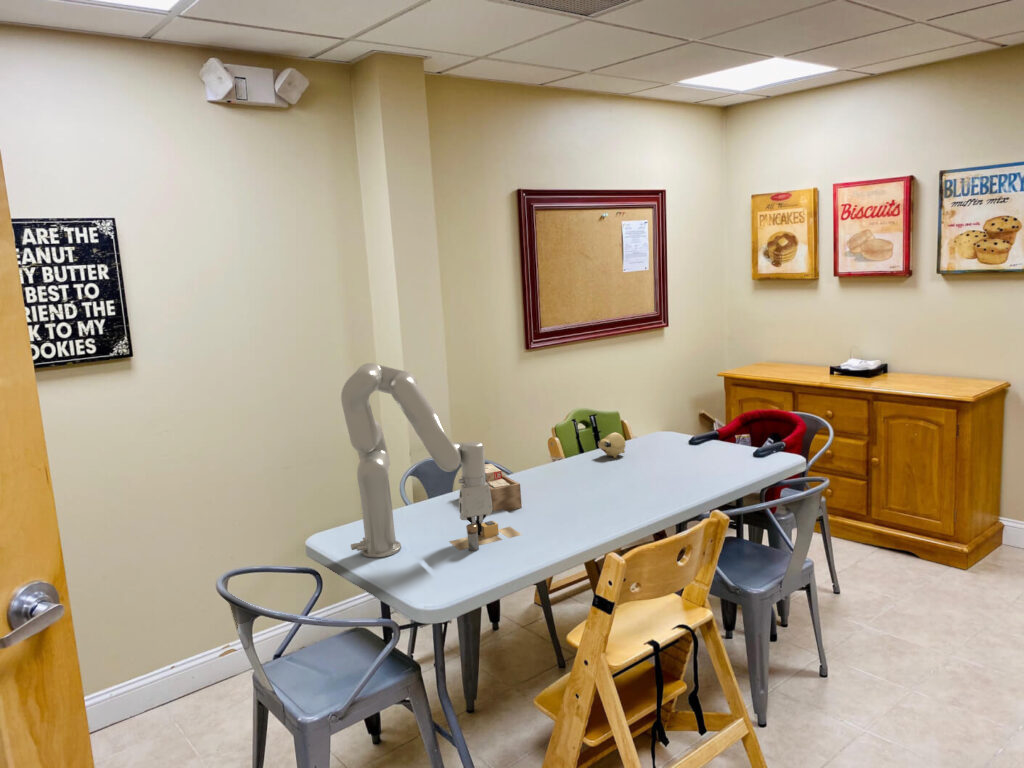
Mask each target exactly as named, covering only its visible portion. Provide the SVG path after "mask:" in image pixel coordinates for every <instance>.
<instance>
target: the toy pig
mask: <svg viewBox="0 0 1024 768" xmlns="http://www.w3.org/2000/svg"><path fill="white" fill-rule="evenodd" d="M597 446H598V448H599V449H600V450H601V451H603V452H604V453H605V454H606V455H607V456H610V457H613V458H615V459H616V458H617V457H618V455H620V454H621V455H622V454H625V453H626V450H625V449H626V440H625V438H624V436H623V435H622V434H620V433H619V432H615V431H614V432H611V433H609V434H607V435H606V436H605V437H604V438H602V439H600V440H598V441H597Z"/></svg>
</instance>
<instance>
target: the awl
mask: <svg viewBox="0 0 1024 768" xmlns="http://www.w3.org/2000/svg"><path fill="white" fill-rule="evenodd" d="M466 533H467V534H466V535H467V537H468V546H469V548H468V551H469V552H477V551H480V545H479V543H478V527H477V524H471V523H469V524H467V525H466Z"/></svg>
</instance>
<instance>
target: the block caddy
mask: <svg viewBox="0 0 1024 768" xmlns="http://www.w3.org/2000/svg"><path fill="white" fill-rule="evenodd" d="M502 479H503V480H505V481H506V482H507V483H509V484H510V485H508V486H504V487H499V488H495V489H494V488H492V487H490V486H489V488H490V493H491V499H492V512H495V511H500V510H504V511H506V512H509V511H513V510H518V509H521V508H522V507H523V506H522V494H521V493H522V492H521V484H520V482H517V481H515V480H514V479H512V478H509V477H508V476H506V475H504V474H502Z"/></svg>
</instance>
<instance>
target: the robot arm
mask: <svg viewBox="0 0 1024 768" xmlns="http://www.w3.org/2000/svg"><path fill="white" fill-rule="evenodd" d="M341 390H342V391H341V394H340V395H341V396H340V399H341V406H342V409H343V414H344V420H345V423H346V424H345V425H346V427H347V431H348V432H347V433H348V435H349V441H350V444H351V446H352V447H353V448H354V450H355V451H357V454H358V455H357V456H358V459H359V464H358V466H357V470H356V475H357V476H356V478H357V485H358V489H359V496H360V505H361V512H362V513H361V514H362V521H363V522H362V523H363V531H364V537H362V540H360V541H359V542H354V543H350V549H351V551H355V550H356V551H357V552H360V551H361V554H362V555H363V556H365V557H368V558H375V559H376V558H384V557H389V556H391V555H394V554H397V553H398V552H400V550H401V549H402V544H401V542H399V541H398V540H396V532H395V531H396V530H395V521H394V520H395V519H394V512H393V504H392V503H393V502H392V494H391V486H390V477H389V475H390V474H389V471H390V465H391V463H390V462H391V460H390V456H389V452H388V448H387V445H386V439H385V437H384V432H383V429H382V426H381V425H380V423H379V422H378V421H377V420H376V419H374V416H373V409H372V406H371V403H370V397H371V395H372V394H373V393H374V392H376V391H377V392H380V393H385V394H389V395H391V397H392V398H393V400H394V401H395V402H396V404H397V406H398V408H400V410H401V411H402V413H403V414H404V416H405V417H406V419H407V421H409V423H410V424H411V426H412V427H413V429H414V432H415V433H416V435H417V436H418V437H419V439H420V441H421V442H422V444H423V446H424V447H425V449H426V452H428V453H429V455H430V457H431V458H432V460H433V461H434V462H435V464H436V465H437V466H438V468H439V469H441V470H442V471H444V472H446V473H447V472H448V473H450V472H454V471H456V470H457V469H458V468H459V467H460V466H461V478H458V480H457V482H458V484H461V485H460V488H459V494H458V495H459V496H458V497H459V498H458V510H459V514H460V515H459V519H460V520H461V521H468V522H470V524H477V527H478V535H479V536H480V535H481V531H482V528H481V523H484V522H483V521H484V520H485V519H486V517H489V516H490V515H492V512H493V511H492V499H491V493H490V488H489V484H488V483H487V482H486V477H485V465H486V461H485V457H486V456H485V446H484V444H483V443H482V442H479V441H467V442H459V441H458V442H457V441H450V439H449V438H448V436H447V434H446V432H445V431H444V429H443V427H442V425H441V422H440V419H439V417H438V414H437V412H436V411H435V408H434V407H433V405H431V403H430V401H429V400H428V399H427V397H426V396H425V394H424V393H423V391H422V390H421V388H420V387H419V385H418V381H417V378H416V377H415V375H413V373H411V372H409V371H405V370H401V369H398V368H393V367H389V366H385V365H381V364H377V363H372V362H371V363H370V362H369V363H364V364H362V365H361V366H359V367H358V368H357V370H355V372H354V373H352V375H351V376H350V377H349V378H348V379H347V380H346V381H345V383H344V385H343V387H342V389H341Z"/></svg>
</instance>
